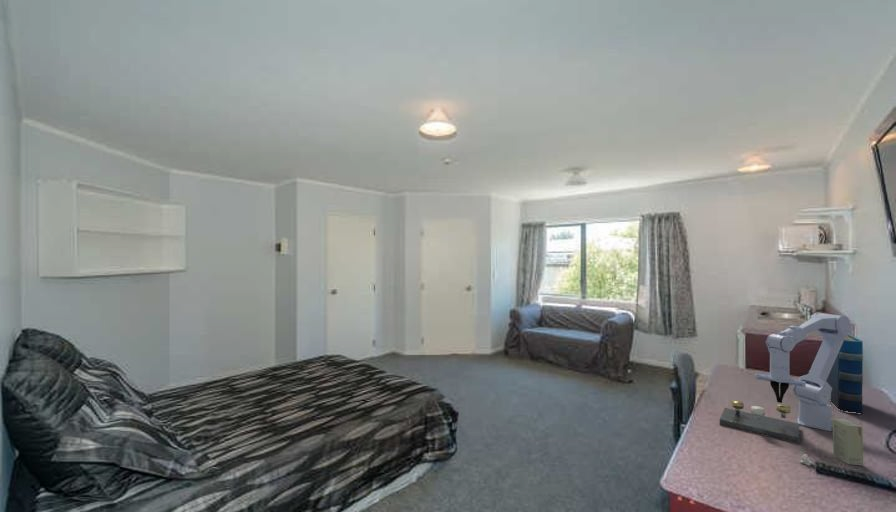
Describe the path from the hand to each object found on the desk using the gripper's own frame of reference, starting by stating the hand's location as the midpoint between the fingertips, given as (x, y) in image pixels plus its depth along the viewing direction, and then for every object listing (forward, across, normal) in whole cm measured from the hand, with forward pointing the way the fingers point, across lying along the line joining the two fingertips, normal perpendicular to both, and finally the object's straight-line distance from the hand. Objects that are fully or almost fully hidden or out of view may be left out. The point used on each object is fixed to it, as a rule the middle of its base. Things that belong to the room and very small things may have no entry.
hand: (779, 401), depth 148 cm
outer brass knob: (+8, -13, 0) cm, 15 cm away
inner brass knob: (+6, +1, 0) cm, 6 cm away
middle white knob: (+6, -6, -9) cm, 12 cm away
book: (+10, +20, +48) cm, 53 cm away
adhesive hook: (+10, +8, -29) cm, 32 cm away
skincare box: (+10, +17, -16) cm, 26 cm away
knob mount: (+10, -6, -4) cm, 12 cm away
